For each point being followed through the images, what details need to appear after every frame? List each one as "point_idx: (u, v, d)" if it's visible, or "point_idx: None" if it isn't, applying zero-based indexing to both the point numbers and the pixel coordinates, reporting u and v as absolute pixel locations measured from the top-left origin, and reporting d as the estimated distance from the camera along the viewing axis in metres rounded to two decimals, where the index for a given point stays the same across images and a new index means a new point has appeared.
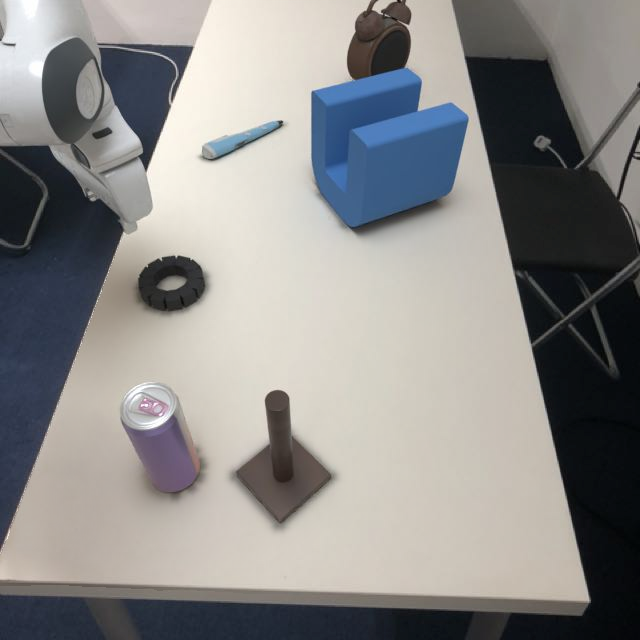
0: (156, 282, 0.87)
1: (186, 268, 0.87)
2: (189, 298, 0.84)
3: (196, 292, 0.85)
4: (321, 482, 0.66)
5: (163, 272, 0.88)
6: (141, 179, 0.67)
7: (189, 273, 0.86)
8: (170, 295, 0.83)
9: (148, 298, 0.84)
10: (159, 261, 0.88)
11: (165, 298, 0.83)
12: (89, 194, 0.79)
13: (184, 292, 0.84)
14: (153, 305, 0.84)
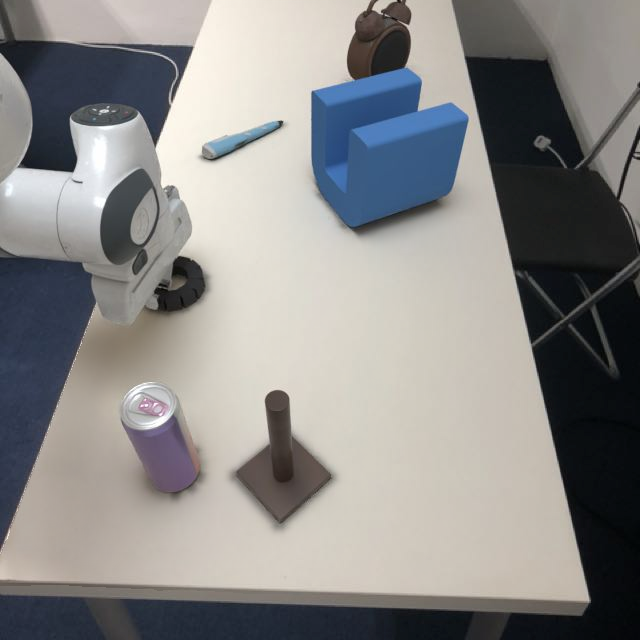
0: None
1: (186, 268, 0.87)
2: (189, 298, 0.84)
3: (196, 292, 0.85)
4: (321, 482, 0.66)
5: None
6: (118, 299, 0.70)
7: (189, 273, 0.86)
8: (170, 295, 0.83)
9: None
10: None
11: (165, 298, 0.83)
12: None
13: (184, 293, 0.84)
14: None
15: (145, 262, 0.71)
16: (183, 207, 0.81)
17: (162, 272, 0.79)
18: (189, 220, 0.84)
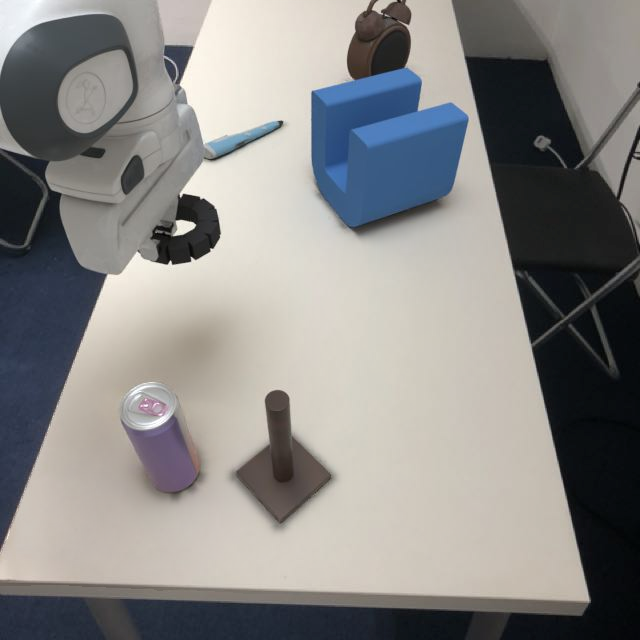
0: (154, 228, 0.64)
1: (195, 208, 0.64)
2: (200, 247, 0.61)
3: (210, 239, 0.62)
4: (321, 482, 0.66)
5: None
6: (100, 231, 0.47)
7: (199, 215, 0.63)
8: (174, 242, 0.60)
9: None
10: None
11: (168, 246, 0.60)
12: (156, 227, 0.61)
13: (194, 238, 0.61)
14: None
15: (140, 177, 0.47)
16: (193, 117, 0.58)
17: (164, 205, 0.56)
18: (200, 139, 0.61)
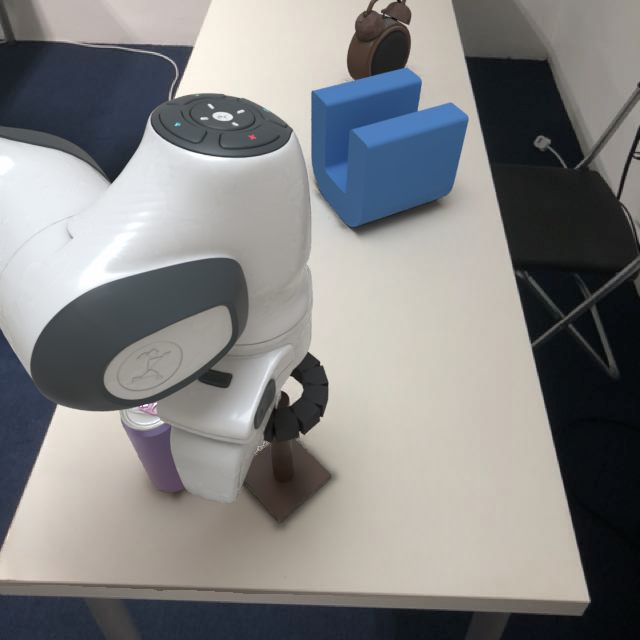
0: None
1: (298, 366, 0.54)
2: (311, 421, 0.51)
3: (320, 409, 0.52)
4: (321, 482, 0.66)
5: None
6: (222, 471, 0.37)
7: (305, 376, 0.53)
8: (281, 419, 0.50)
9: None
10: None
11: (274, 424, 0.50)
12: None
13: (303, 412, 0.51)
14: None
15: (271, 400, 0.37)
16: (309, 276, 0.48)
17: (278, 391, 0.46)
18: (312, 294, 0.50)
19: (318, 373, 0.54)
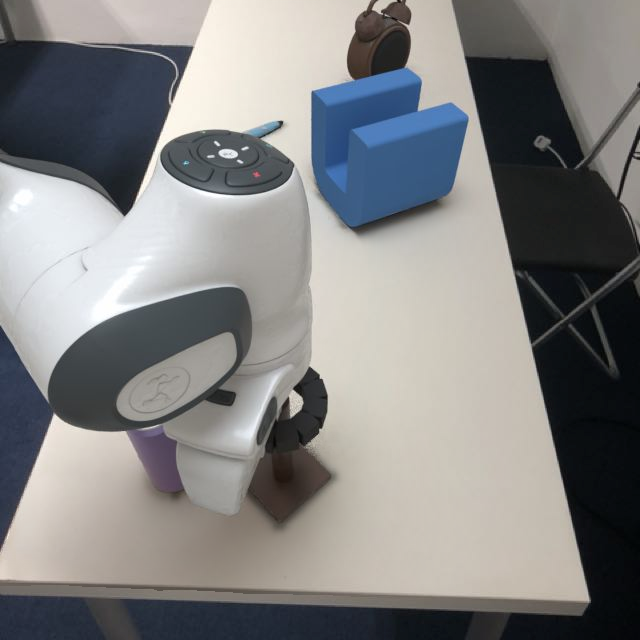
0: None
1: None
2: (311, 433, 0.53)
3: (320, 421, 0.54)
4: (321, 482, 0.66)
5: None
6: (226, 485, 0.39)
7: (305, 389, 0.55)
8: (282, 431, 0.52)
9: None
10: None
11: (275, 437, 0.52)
12: None
13: (303, 425, 0.52)
14: None
15: (273, 417, 0.39)
16: (309, 294, 0.49)
17: None
18: (311, 310, 0.52)
19: (318, 386, 0.55)
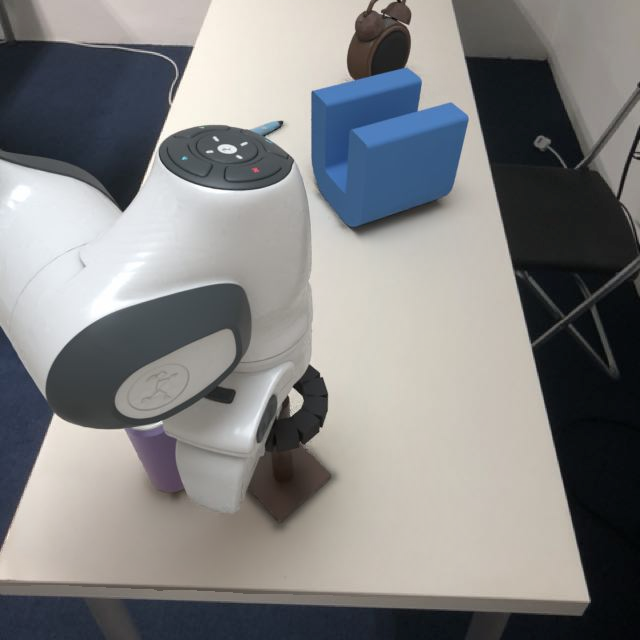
0: None
1: None
2: (311, 432, 0.52)
3: (320, 420, 0.53)
4: (321, 482, 0.66)
5: None
6: (225, 483, 0.38)
7: (305, 387, 0.55)
8: (282, 429, 0.52)
9: None
10: None
11: (275, 435, 0.51)
12: None
13: (303, 423, 0.52)
14: None
15: (273, 414, 0.39)
16: (309, 292, 0.49)
17: None
18: (312, 308, 0.52)
19: (318, 384, 0.55)
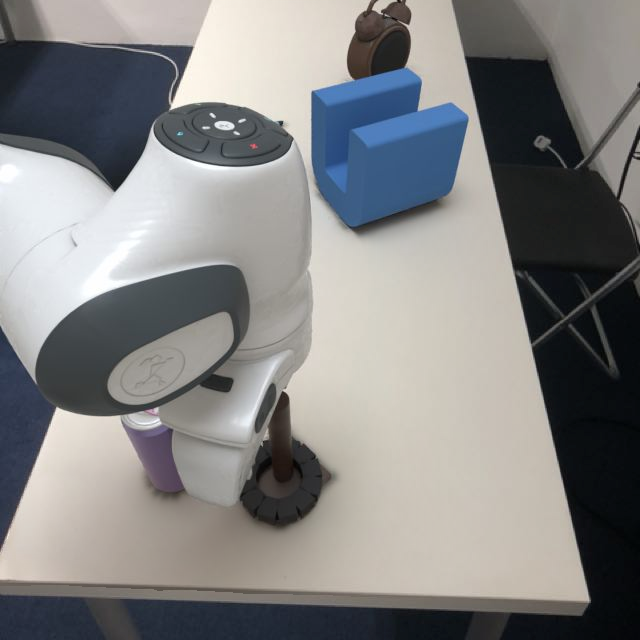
0: (257, 477, 0.66)
1: (298, 459, 0.66)
2: (307, 508, 0.63)
3: (315, 497, 0.64)
4: None
5: (266, 463, 0.66)
6: (223, 474, 0.37)
7: (303, 468, 0.65)
8: (283, 507, 0.62)
9: (254, 511, 0.62)
10: (260, 448, 0.67)
11: (277, 512, 0.62)
12: None
13: (301, 502, 0.62)
14: (259, 518, 0.63)
15: (272, 404, 0.38)
16: (309, 281, 0.48)
17: None
18: (312, 298, 0.51)
19: (314, 465, 0.65)
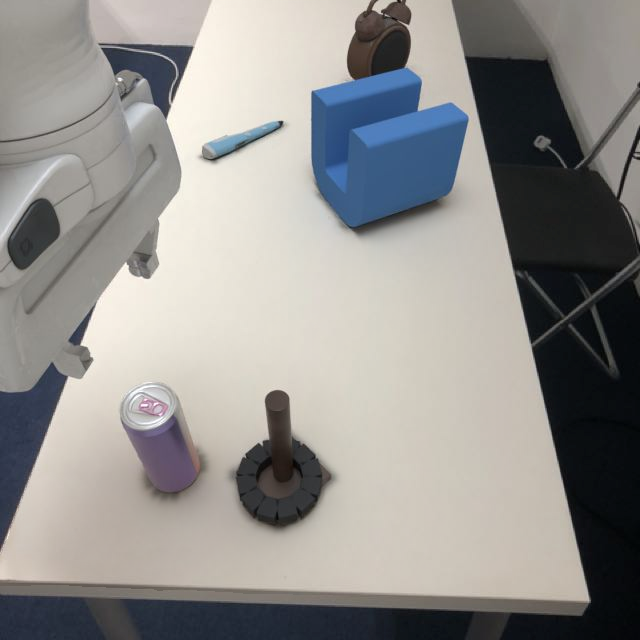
0: (257, 477, 0.66)
1: (298, 459, 0.66)
2: (307, 508, 0.63)
3: (315, 497, 0.64)
4: None
5: (266, 463, 0.66)
6: None
7: (303, 468, 0.65)
8: (283, 507, 0.62)
9: (254, 511, 0.62)
10: (260, 448, 0.67)
11: (277, 512, 0.62)
12: (128, 263, 0.42)
13: (301, 502, 0.62)
14: (259, 518, 0.63)
15: (53, 236, 0.27)
16: (161, 123, 0.37)
17: (113, 264, 0.35)
18: (175, 156, 0.40)
19: (314, 465, 0.65)
